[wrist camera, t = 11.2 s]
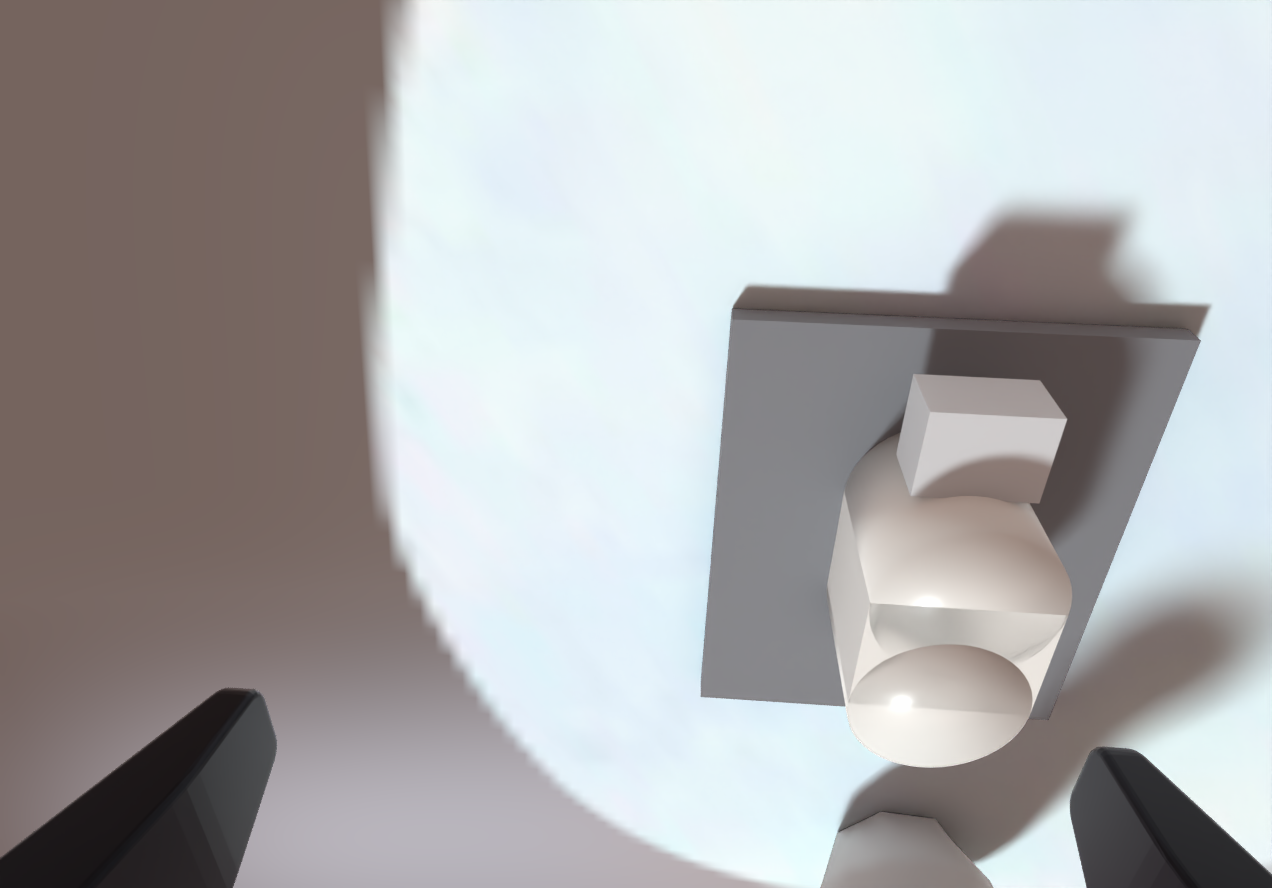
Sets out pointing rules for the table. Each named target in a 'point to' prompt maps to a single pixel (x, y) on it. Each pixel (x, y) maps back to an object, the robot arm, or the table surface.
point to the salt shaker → (899, 856)
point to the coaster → (872, 412)
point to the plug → (949, 573)
